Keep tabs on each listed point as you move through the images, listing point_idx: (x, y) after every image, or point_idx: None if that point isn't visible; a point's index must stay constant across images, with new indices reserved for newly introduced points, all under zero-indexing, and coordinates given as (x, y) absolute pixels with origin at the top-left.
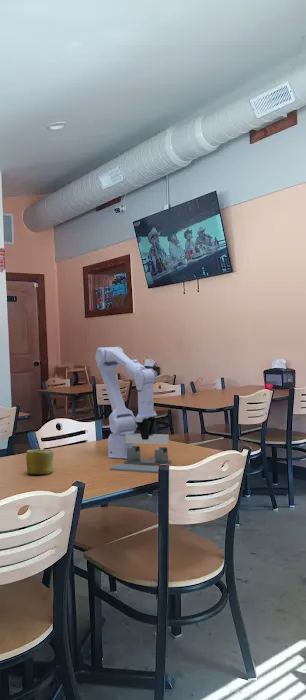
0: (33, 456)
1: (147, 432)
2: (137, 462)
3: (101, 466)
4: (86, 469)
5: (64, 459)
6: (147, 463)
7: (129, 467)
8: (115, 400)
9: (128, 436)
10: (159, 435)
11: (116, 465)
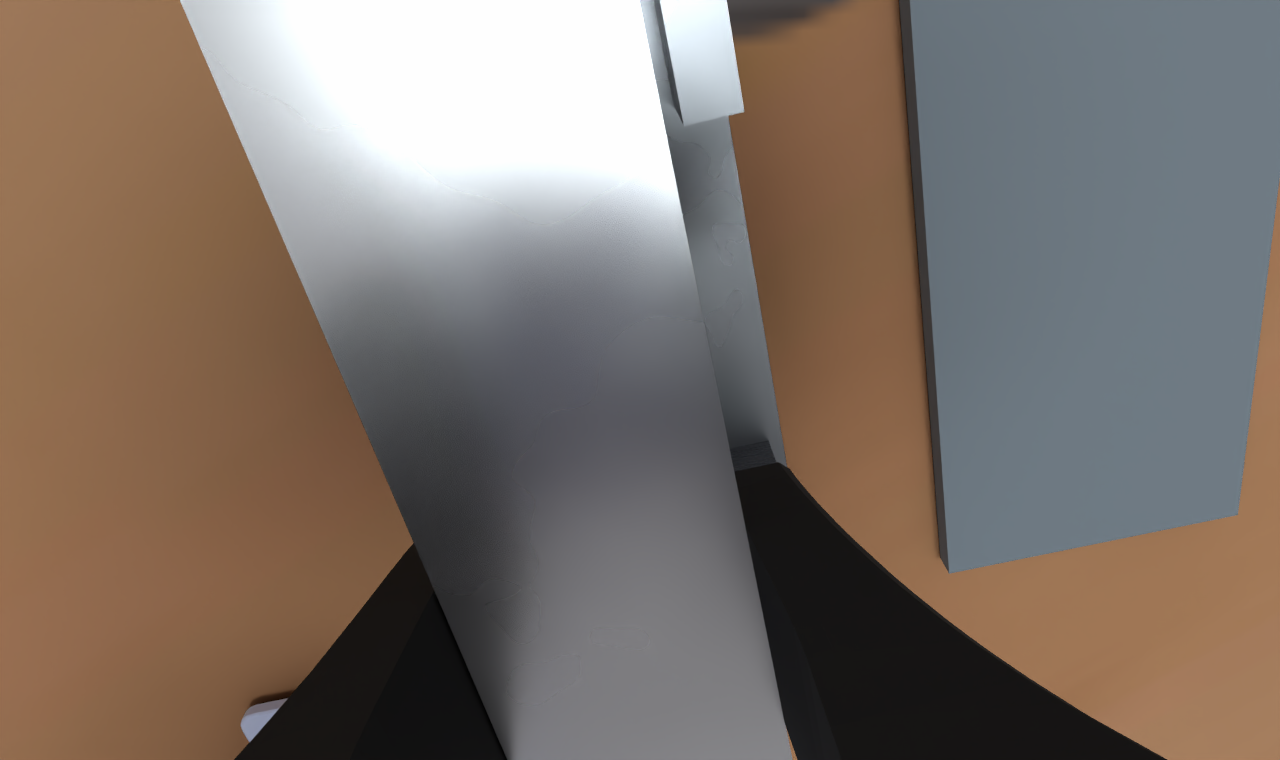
0: None
1: (910, 590)
2: (771, 386)
3: (1052, 683)
4: (1240, 724)
5: None
6: (743, 207)
7: (1134, 297)
8: None
9: None
10: (550, 120)
11: (1053, 533)
